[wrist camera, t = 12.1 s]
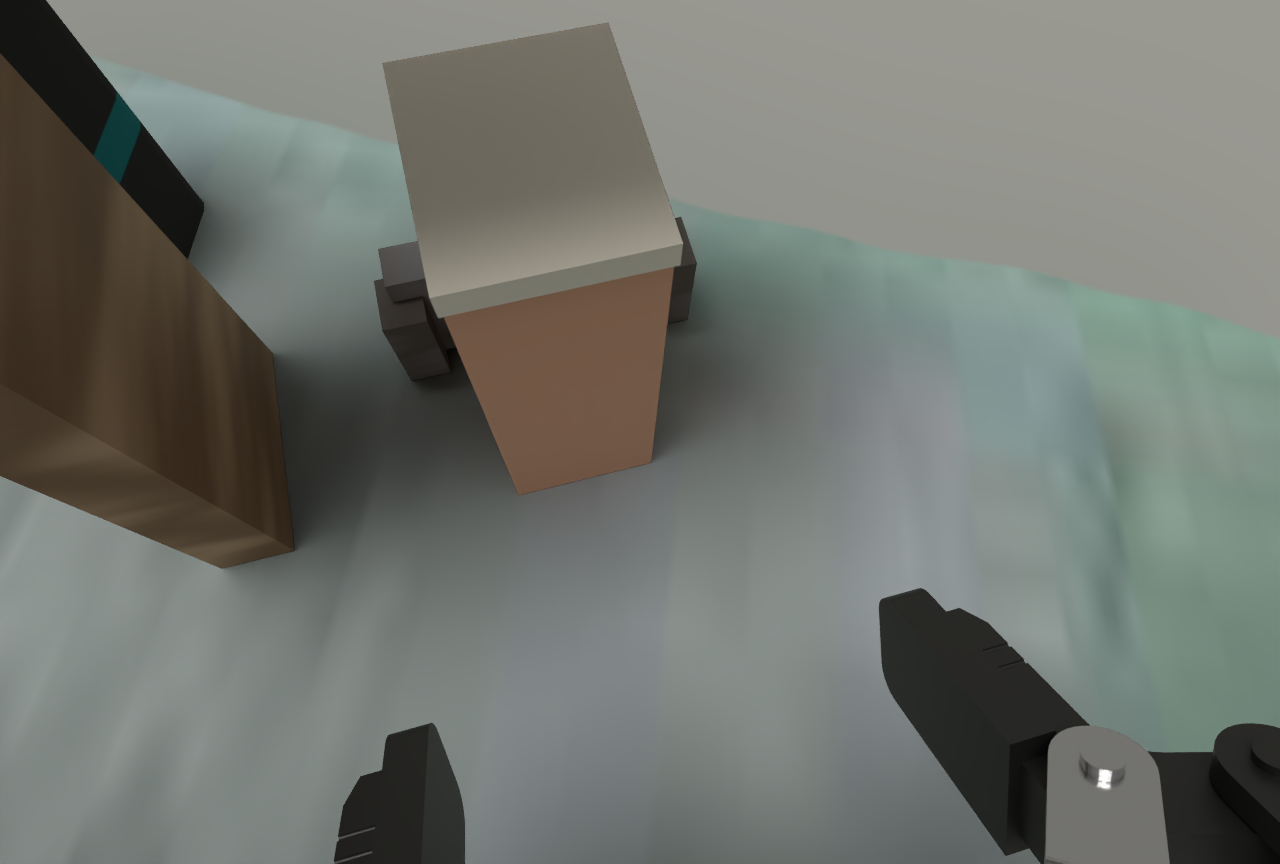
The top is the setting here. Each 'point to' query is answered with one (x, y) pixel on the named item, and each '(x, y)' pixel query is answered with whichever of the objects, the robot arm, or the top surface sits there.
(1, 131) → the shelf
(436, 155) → the tea tin
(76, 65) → the surveillance camera
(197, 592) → the top surface
